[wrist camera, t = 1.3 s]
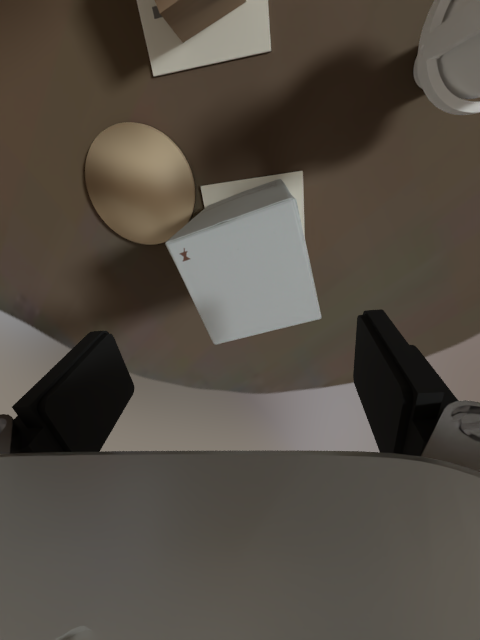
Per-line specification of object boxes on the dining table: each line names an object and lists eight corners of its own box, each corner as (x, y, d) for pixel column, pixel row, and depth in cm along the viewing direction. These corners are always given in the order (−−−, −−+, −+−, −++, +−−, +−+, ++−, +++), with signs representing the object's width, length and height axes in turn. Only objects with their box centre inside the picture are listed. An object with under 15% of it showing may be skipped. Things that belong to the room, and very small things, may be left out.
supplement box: (232, 276, 29) (210, 348, 18) (205, 204, 26) (159, 240, 15) (303, 256, 28) (324, 322, 17) (284, 175, 24) (295, 193, 13)
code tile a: (200, 186, 25) (200, 186, 25) (302, 170, 24) (302, 170, 24) (218, 278, 30) (218, 279, 30) (305, 270, 28) (305, 271, 28)
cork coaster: (70, 134, 24) (65, 133, 24) (180, 112, 23) (178, 111, 22) (112, 248, 29) (109, 249, 29) (205, 236, 28) (204, 238, 27)
